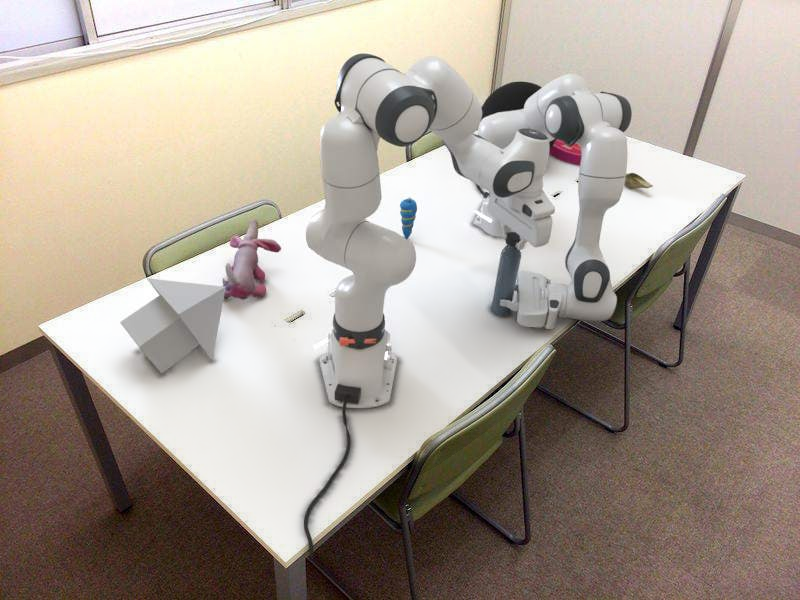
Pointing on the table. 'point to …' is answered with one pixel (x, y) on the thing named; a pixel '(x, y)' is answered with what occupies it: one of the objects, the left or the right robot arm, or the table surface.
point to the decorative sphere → (510, 99)
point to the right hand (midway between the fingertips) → (500, 294)
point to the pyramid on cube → (176, 321)
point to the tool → (636, 181)
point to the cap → (512, 239)
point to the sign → (566, 152)
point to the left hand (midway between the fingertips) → (513, 243)
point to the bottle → (506, 279)
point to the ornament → (408, 215)
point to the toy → (247, 265)
